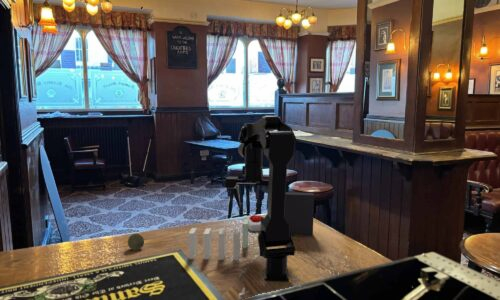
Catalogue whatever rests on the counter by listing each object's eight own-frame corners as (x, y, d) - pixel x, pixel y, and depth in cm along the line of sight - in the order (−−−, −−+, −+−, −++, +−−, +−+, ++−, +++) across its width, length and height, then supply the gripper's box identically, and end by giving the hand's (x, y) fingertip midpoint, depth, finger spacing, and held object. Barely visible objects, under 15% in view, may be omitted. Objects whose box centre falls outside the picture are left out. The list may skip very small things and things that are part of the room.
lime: (146, 247, 124) (145, 232, 123) (135, 252, 120) (135, 237, 119) (135, 245, 126) (134, 230, 125) (124, 250, 121) (124, 235, 121)
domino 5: (247, 247, 124) (247, 224, 123) (242, 247, 124) (242, 224, 123) (248, 242, 129) (248, 219, 128) (243, 242, 129) (243, 219, 128)
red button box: (276, 219, 141) (250, 221, 139) (276, 231, 142) (250, 233, 139) (266, 210, 153) (242, 212, 150) (266, 221, 153) (242, 222, 151)
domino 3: (223, 259, 115) (223, 234, 114) (218, 259, 115) (218, 234, 114) (225, 253, 120) (225, 228, 119) (220, 253, 120) (220, 228, 119)
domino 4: (238, 260, 114) (238, 234, 113) (233, 260, 115) (233, 234, 114) (239, 253, 119) (240, 229, 118) (234, 253, 119) (234, 228, 118)
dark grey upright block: (312, 232, 139) (313, 192, 137) (312, 236, 135) (314, 195, 133) (282, 231, 140) (282, 191, 138) (281, 235, 136) (282, 194, 134)
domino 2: (208, 259, 115) (208, 233, 114) (203, 259, 115) (203, 233, 114) (211, 252, 120) (211, 228, 119) (206, 252, 120) (206, 228, 119)
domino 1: (194, 259, 115) (193, 233, 114) (188, 258, 115) (188, 233, 114) (197, 252, 120) (196, 228, 119) (192, 252, 120) (191, 227, 119)
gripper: (282, 158, 132) (281, 202, 134) (228, 157, 133) (228, 201, 135) (282, 163, 121) (281, 211, 123) (223, 162, 122) (224, 209, 124)
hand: (253, 208), depth 126 cm, fingers open, 9 cm apart
